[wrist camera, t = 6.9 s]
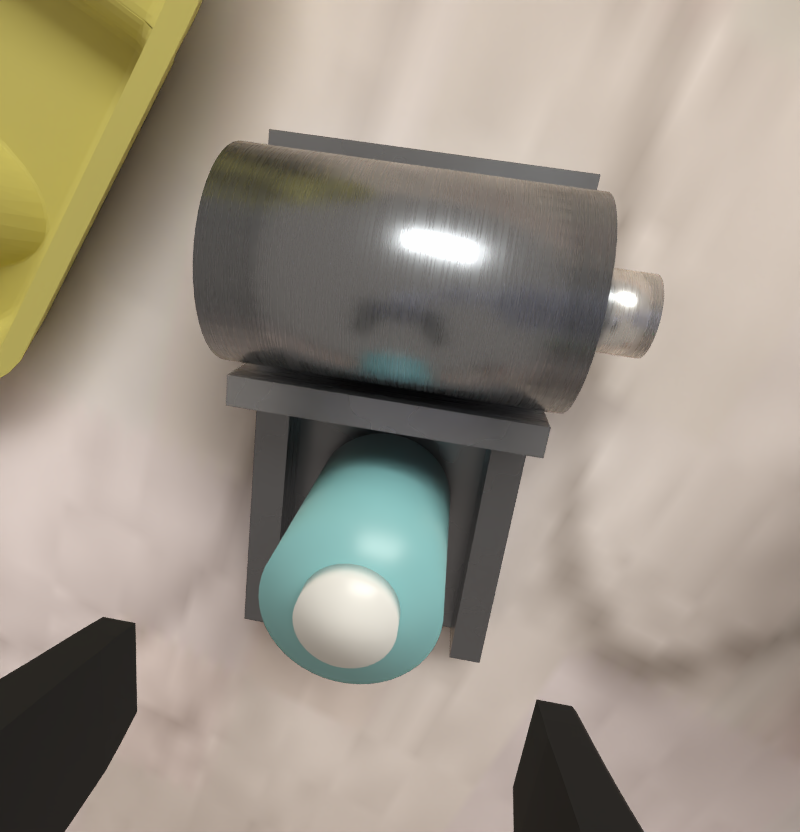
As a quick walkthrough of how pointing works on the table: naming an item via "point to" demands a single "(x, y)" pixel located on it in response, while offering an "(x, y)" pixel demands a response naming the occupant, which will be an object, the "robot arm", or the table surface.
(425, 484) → the teal rounded cylinder
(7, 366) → the plastic component
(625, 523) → the table surface
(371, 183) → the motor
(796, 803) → the table surface
